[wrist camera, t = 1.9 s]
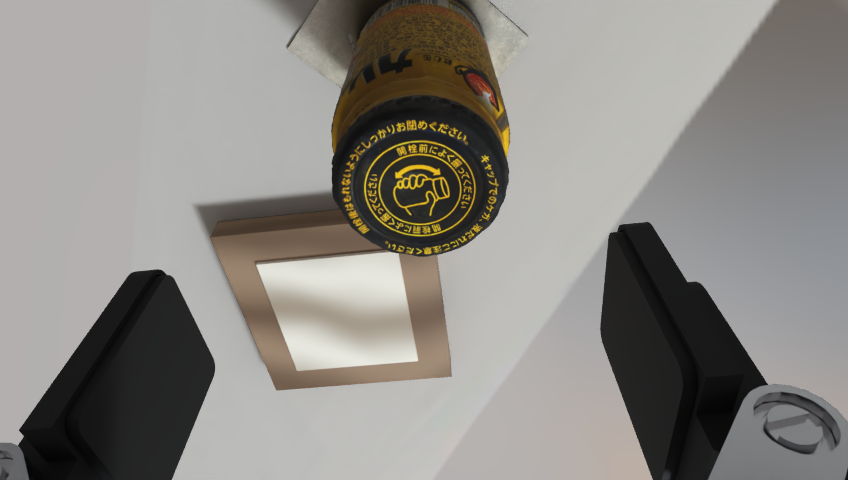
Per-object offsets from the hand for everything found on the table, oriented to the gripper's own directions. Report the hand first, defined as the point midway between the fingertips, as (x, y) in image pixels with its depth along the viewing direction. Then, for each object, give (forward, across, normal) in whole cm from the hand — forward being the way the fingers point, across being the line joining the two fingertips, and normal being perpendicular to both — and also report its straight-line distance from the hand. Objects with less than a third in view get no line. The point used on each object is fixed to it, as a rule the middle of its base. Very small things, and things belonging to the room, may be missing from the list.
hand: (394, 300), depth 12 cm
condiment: (+17, 0, -1) cm, 17 cm away
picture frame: (+17, +6, +14) cm, 23 cm away
